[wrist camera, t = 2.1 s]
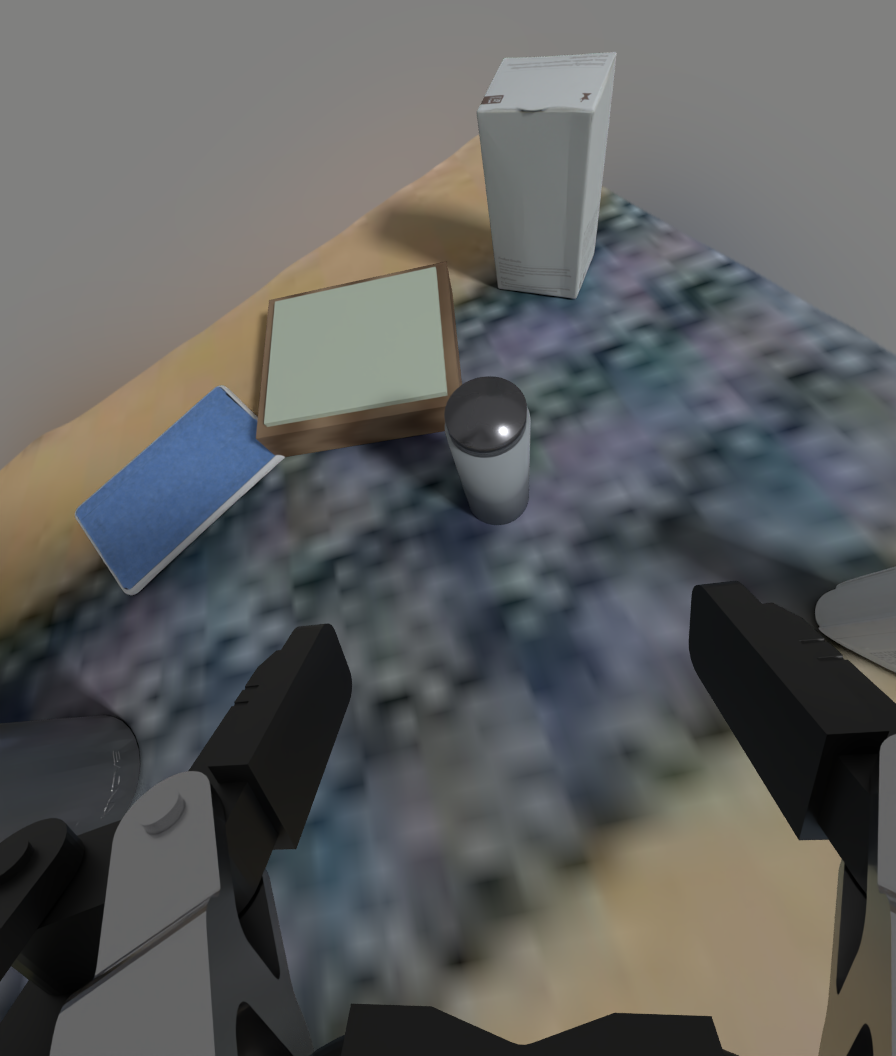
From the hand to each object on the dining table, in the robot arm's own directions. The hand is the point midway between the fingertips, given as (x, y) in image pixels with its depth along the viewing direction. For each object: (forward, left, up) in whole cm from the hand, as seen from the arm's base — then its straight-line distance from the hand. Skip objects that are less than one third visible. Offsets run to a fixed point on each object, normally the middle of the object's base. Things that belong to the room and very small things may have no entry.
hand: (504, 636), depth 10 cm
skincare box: (+7, +36, -22) cm, 43 cm away
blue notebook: (-30, +19, -23) cm, 42 cm away
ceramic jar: (0, +13, -22) cm, 26 cm away
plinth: (-11, +28, -22) cm, 37 cm away
